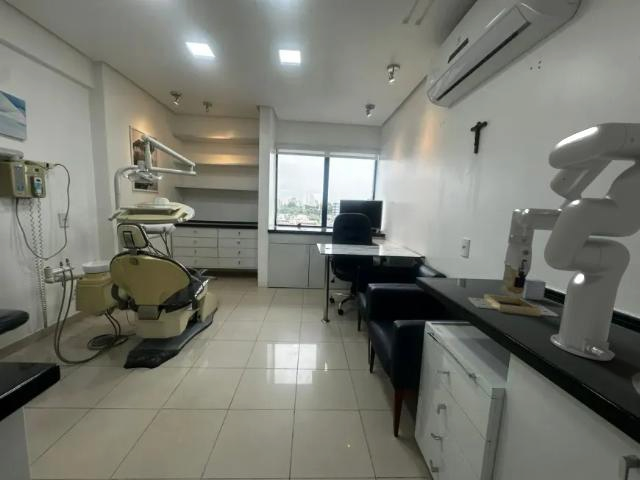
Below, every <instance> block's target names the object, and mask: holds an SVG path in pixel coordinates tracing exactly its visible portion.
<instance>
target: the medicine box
mask: <svg viewBox="0 0 640 480" xmlns="http://www.w3.org/2000/svg"><path fill="white" fill-rule="evenodd" d="M546 284H547V281H544V280H541V279H537V278H536V279H535V278H526V281H525V286H524V291H523V296H522V297H521V299H523V300H525V299H526V300H534V301H536V300H537V301H543V300H544V296H545V292H546Z"/></svg>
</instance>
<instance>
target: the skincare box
mask: <svg viewBox="0 0 640 480" xmlns="http://www.w3.org/2000/svg"><path fill="white" fill-rule="evenodd" d="M519 269H522V270H523V268H521V267H519ZM519 273H521V271H519ZM515 277H517V275H516V270H514V269H512V268H511V265H509V264H506V265H505V264H504V272H503V278H502V283H501V288H500V293H501V294H504V295H506V296H509V297H517V298H522V296H523V291H524V288H517V287H514V282H515ZM526 279H527V277H526V278H525V281H526ZM524 286H525V283H524Z"/></svg>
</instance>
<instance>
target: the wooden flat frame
mask: <svg viewBox="0 0 640 480" xmlns="http://www.w3.org/2000/svg"><path fill="white" fill-rule="evenodd" d="M468 299H469V300H468ZM467 300H468V301H470V302H471V303H472V304H473V305H474V306H475V307H476V308H482V309H488V310H496V311H498V312H501V313H507V314H508V313H509V314H516V315H517V314H519V315H525V316H526V315H527V316H533V317H534V316H535V317H541V316H548V317H549V316H550V317H556V318H557V317H558V316H559V314H558V313H556V312H554V311H552V310H550V309H549V308H546V307H544V306H543V305H540V304H539V305H538V304H531V303H530V302H528V301H526V300H525V299H524V298H522V297H512V296H509V295H497V294H489V293H488V294H487V293H484V295H483V298H480V297H479V298H477V297H469V296H468V297H467ZM501 303H505V304H501ZM506 303H507V305H506ZM509 304H516V305H509ZM517 305H519V306H517Z"/></svg>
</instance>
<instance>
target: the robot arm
mask: <svg viewBox="0 0 640 480" xmlns="http://www.w3.org/2000/svg"><path fill="white" fill-rule="evenodd" d="M613 161H624V162H625V161H629V162H634V164H632V165H631V166H629V167H627V168H626V169H625V170H623V171H622V172H621V173H620V174H618V175H617V177H616V178H615V179H614V180H613V181H612V184H610V187H609V189H608V191H607V193H605V195H604V196H603V197H600V198H598V197H582V194H583V192H584V191H585V190H587V188H588V187H589V186H590V185H591V184H592V183H593V182H594V180H595V179H597V178H598V176H599V175H600V174H602V172H603V171H604V170H605V169H606V168H607V167H608V166H609V165H610V164H611V163H612V162H613ZM548 164H549V166H550V167H551V168H553V169H556V170H559V171H558V172H557V173H556V175H555V176H554V177H553V178H552V180H551V181H550V183H549V187H550V189H551V190H552V191H553V192H554V193H555V194H557V195H558V196H560V197H562V198H564V199H565V200H564V202H563V203H562V204H561V205H560V206H559V207H558V208H557V209H552V208H532V207H531V208H529V207H528V208H516V209H514V210H513V211H512V214H511V220H510V227H509V236H508V239H507V240H508V241H507V243H508V246H507V249H506V253H505V260H504V266H505V265H506V264H509V265H511V268H512V269H514V270H516V275H517V277H515V282H514V287H517V288H524V283H525V278H526V279H527V276H528V274H529V273H530V271H531V267H532V262H533V261H532V259H533V239H534V233H535V230H536V231H537V230H539V231H541V230H542V231H551V233H550V235H549V237H548V239H547V241H546V242H547V243H546V245H545V247H544V252H543V258H544V261H545V263H546V265H548V267H550V268H552V269H553V270H557V271H564V272H573V273H574V272H575V274H574V275H573V276H572V277H571V278H570V280H569V282H568V284H567V287H566V291H565V297H564V303H563V308H562V313H561V319H560V325H559V329H558V330H559V331H558V333H556V334H552V335H551V336H550V341H551V343H552V344H553V345H554V346H556V347H558V348H559V349H561V350H563V351H565V352H568V353H571V354H573V355H576V356H579V357H582V358H585V359H589V360H590V359H591V360H593V361H595V360H596V361H606V362H607V361H612V359H613V358H615V356H616V353H614V352H613V351H611V350H609V347H610V342H608V337H609V333H610V329H611V322H612V318H613V313H614V308H615V304H616V303H615V302H616V300H617V294H618V290H619V286H620V283H621V281H622V279H623V276H624V274H625V272H626V270H627V269H628V267H629V265H630V261H631V254H630V250H629V249H628V247H626V245H624V244H623V243H621V242H619V241H618V240H615V239H610V238H625V237H630V236H633V235H636V233H638V231H640V122H638V123H637V122H636V123H635V122H604V123H600V124H596V125H593V126H591V127H589V128H586V129H584V130H582V131H580V132H577V133H575V134H571V135H570V136H567V137H566V138H564V139H562V140H560V141H559V142H558V143H557V144H555V145H554V147H553V148H552V149H551V151H550V153H549V155H548ZM591 236H592V237H591ZM593 236H594V237H593ZM601 237H602V238H601ZM603 237H609V238H603ZM519 267H521V268H523V270H522V269H519ZM519 271H521V273H519Z"/></svg>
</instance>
